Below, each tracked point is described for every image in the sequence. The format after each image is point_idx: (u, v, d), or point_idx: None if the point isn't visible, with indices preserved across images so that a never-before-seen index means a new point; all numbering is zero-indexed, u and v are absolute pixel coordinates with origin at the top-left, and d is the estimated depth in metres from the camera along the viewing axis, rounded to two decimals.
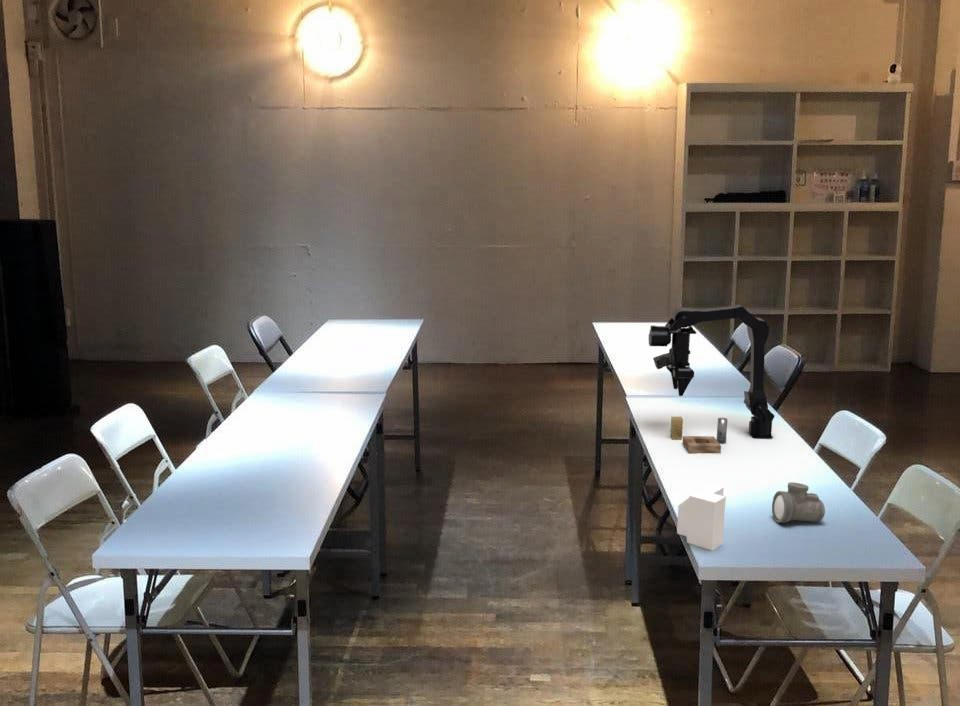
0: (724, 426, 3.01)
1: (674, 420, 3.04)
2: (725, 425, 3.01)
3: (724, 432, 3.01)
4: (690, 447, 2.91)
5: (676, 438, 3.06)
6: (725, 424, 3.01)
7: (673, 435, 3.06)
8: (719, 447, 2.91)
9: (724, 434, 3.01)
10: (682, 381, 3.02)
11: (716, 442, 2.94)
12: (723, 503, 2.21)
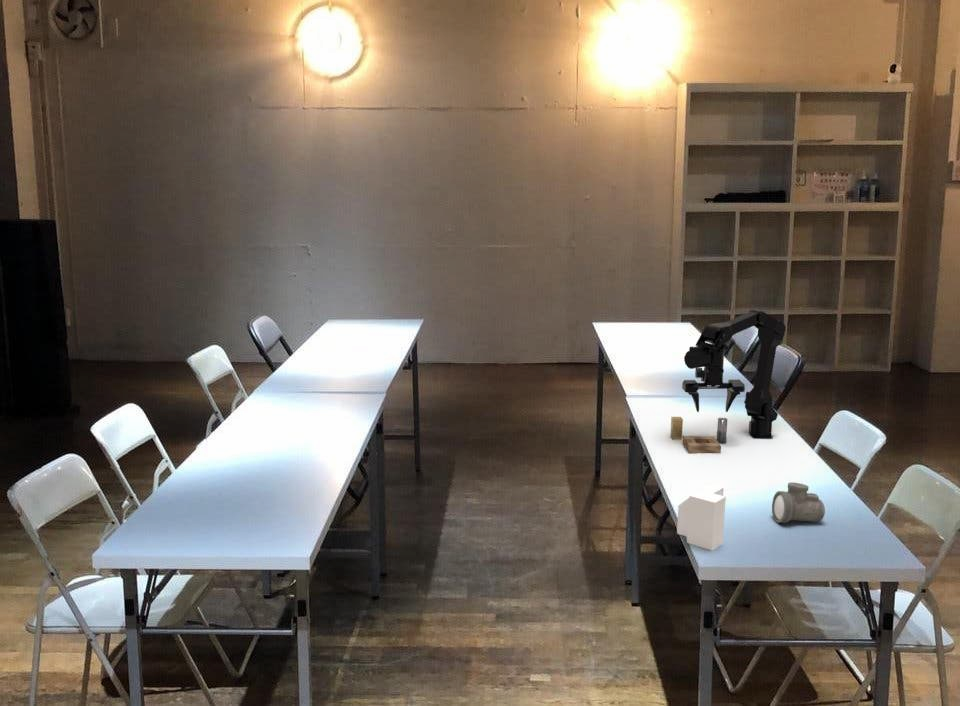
0: (724, 426, 3.01)
1: (674, 420, 3.04)
2: (725, 425, 3.01)
3: (724, 432, 3.01)
4: (690, 447, 2.91)
5: (676, 438, 3.06)
6: (725, 424, 3.01)
7: (673, 435, 3.06)
8: (719, 447, 2.91)
9: (724, 434, 3.01)
10: None
11: (716, 442, 2.94)
12: (723, 503, 2.21)
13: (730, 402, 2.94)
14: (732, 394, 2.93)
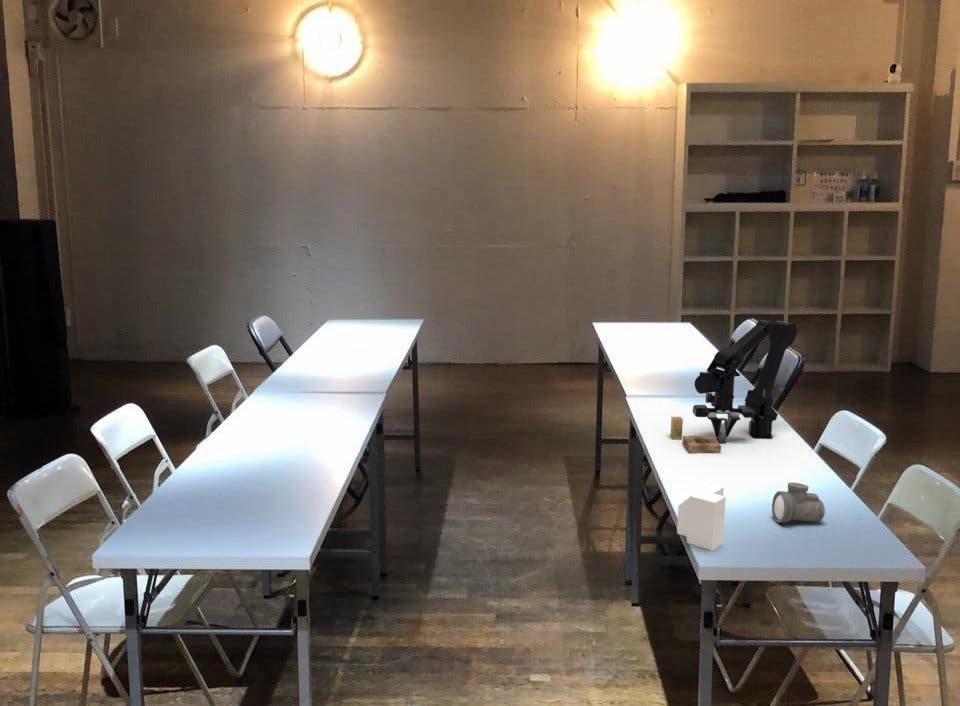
0: (724, 426, 3.01)
1: (674, 420, 3.04)
2: (725, 425, 3.01)
3: (724, 432, 3.01)
4: (690, 447, 2.91)
5: (676, 438, 3.06)
6: (725, 424, 3.01)
7: (673, 435, 3.06)
8: (719, 447, 2.91)
9: (724, 434, 3.01)
10: None
11: (716, 442, 2.94)
12: (723, 503, 2.21)
13: (730, 427, 3.00)
14: (732, 419, 2.99)
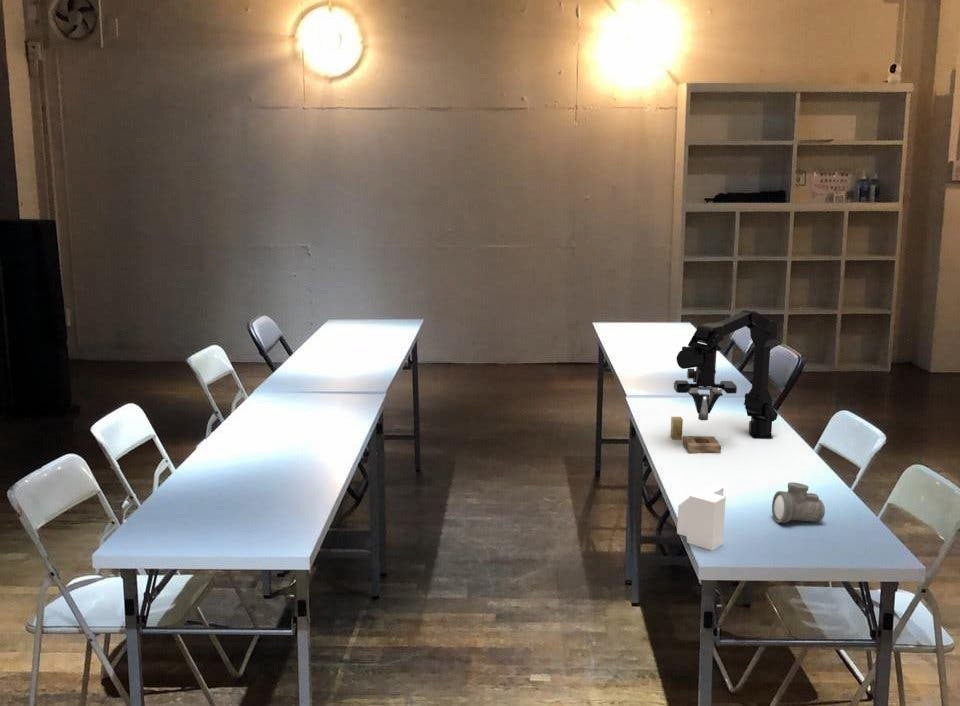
0: (706, 402, 2.92)
1: (674, 420, 3.05)
2: (707, 401, 2.92)
3: (706, 408, 2.92)
4: (690, 447, 2.91)
5: (676, 438, 3.06)
6: (707, 400, 2.92)
7: (673, 435, 3.06)
8: (719, 447, 2.91)
9: (706, 410, 2.93)
10: None
11: (716, 442, 2.94)
12: (723, 503, 2.21)
13: (712, 403, 2.92)
14: (714, 395, 2.90)
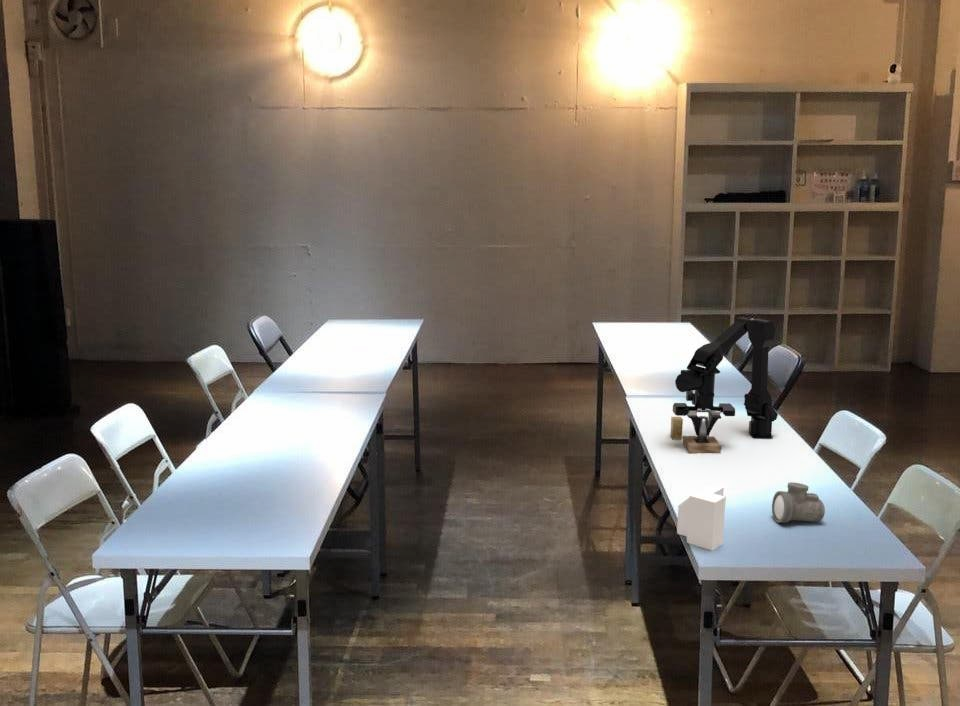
0: (705, 425, 2.93)
1: (674, 420, 3.05)
2: (706, 424, 2.94)
3: (705, 431, 2.94)
4: (690, 447, 2.91)
5: (676, 438, 3.06)
6: (706, 423, 2.93)
7: (673, 435, 3.06)
8: (719, 447, 2.91)
9: (705, 433, 2.94)
10: None
11: (716, 442, 2.94)
12: (723, 503, 2.21)
13: (711, 426, 2.93)
14: (713, 418, 2.91)
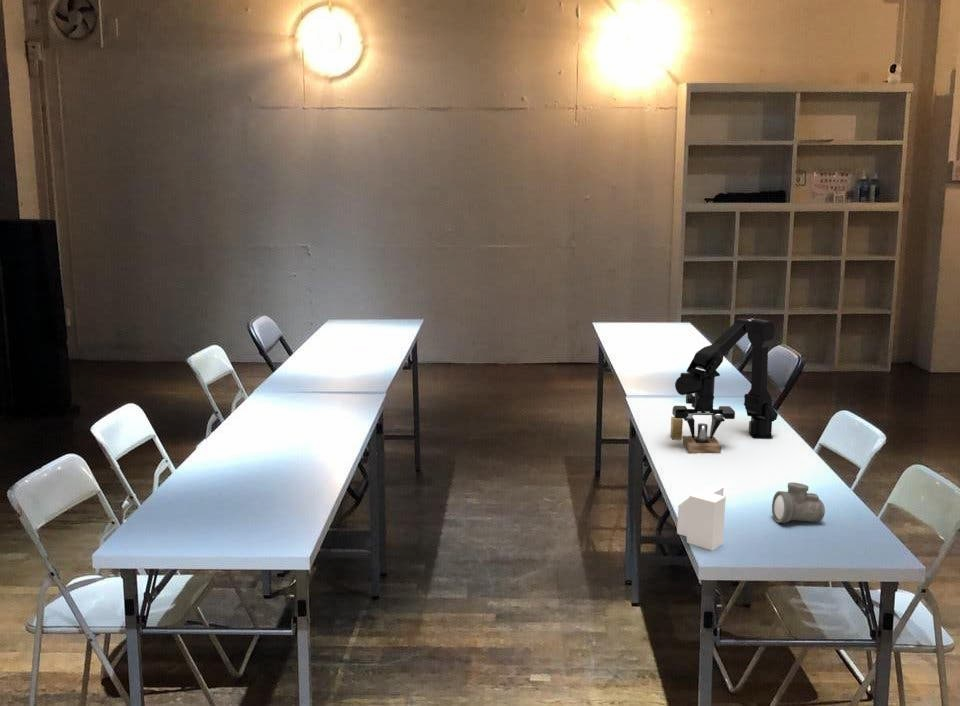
0: (704, 432, 2.94)
1: (674, 420, 3.04)
2: (705, 431, 2.94)
3: (704, 438, 2.94)
4: (690, 447, 2.91)
5: (676, 438, 3.06)
6: (705, 430, 2.94)
7: (673, 435, 3.06)
8: (719, 447, 2.91)
9: (704, 440, 2.95)
10: None
11: (716, 442, 2.94)
12: (723, 503, 2.21)
13: (714, 429, 2.93)
14: (716, 421, 2.92)
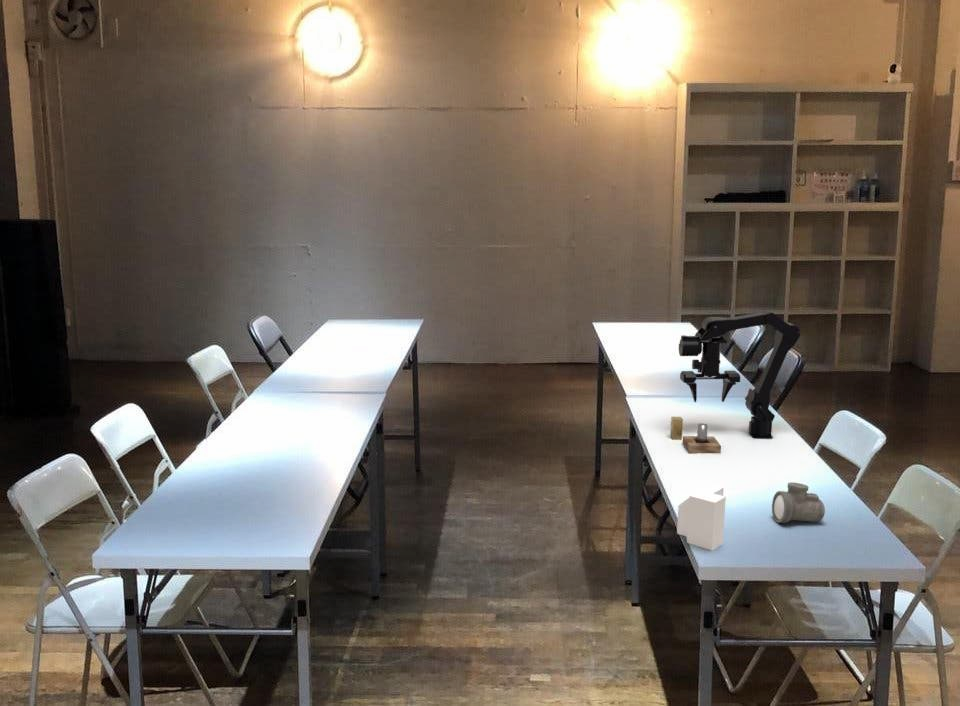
0: (704, 432, 2.94)
1: (674, 420, 3.04)
2: (705, 431, 2.94)
3: (704, 438, 2.94)
4: (690, 447, 2.91)
5: (676, 438, 3.06)
6: (705, 430, 2.94)
7: (673, 435, 3.06)
8: (719, 447, 2.91)
9: (704, 440, 2.95)
10: None
11: (716, 442, 2.94)
12: (723, 503, 2.21)
13: (726, 392, 3.06)
14: (728, 384, 3.04)
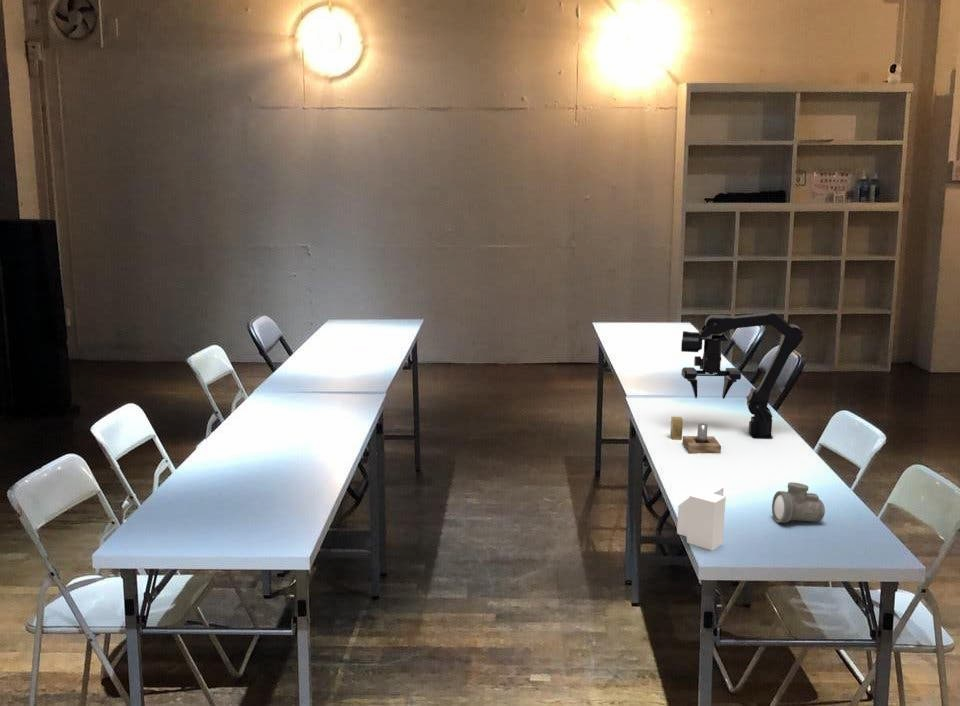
0: (704, 432, 2.94)
1: (674, 420, 3.05)
2: (705, 431, 2.94)
3: (704, 438, 2.94)
4: (690, 447, 2.91)
5: (676, 438, 3.06)
6: (705, 430, 2.94)
7: (673, 435, 3.06)
8: (719, 447, 2.91)
9: (704, 440, 2.95)
10: None
11: (716, 442, 2.94)
12: (723, 503, 2.21)
13: (727, 389, 3.09)
14: (729, 381, 3.07)
